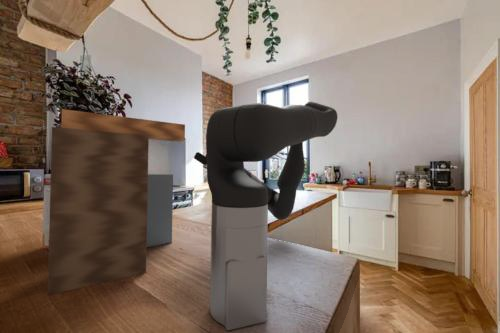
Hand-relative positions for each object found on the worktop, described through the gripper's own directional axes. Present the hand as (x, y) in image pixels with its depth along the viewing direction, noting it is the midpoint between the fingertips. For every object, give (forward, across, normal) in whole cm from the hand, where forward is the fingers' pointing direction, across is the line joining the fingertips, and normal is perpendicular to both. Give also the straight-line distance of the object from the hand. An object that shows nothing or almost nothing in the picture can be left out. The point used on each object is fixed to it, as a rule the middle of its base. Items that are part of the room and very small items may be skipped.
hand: (201, 153), depth 61 cm
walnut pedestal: (+6, 0, +34) cm, 35 cm away
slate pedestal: (-3, -17, +29) cm, 34 cm away
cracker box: (+11, -24, +38) cm, 46 cm away
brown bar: (+16, 0, +6) cm, 17 cm away
